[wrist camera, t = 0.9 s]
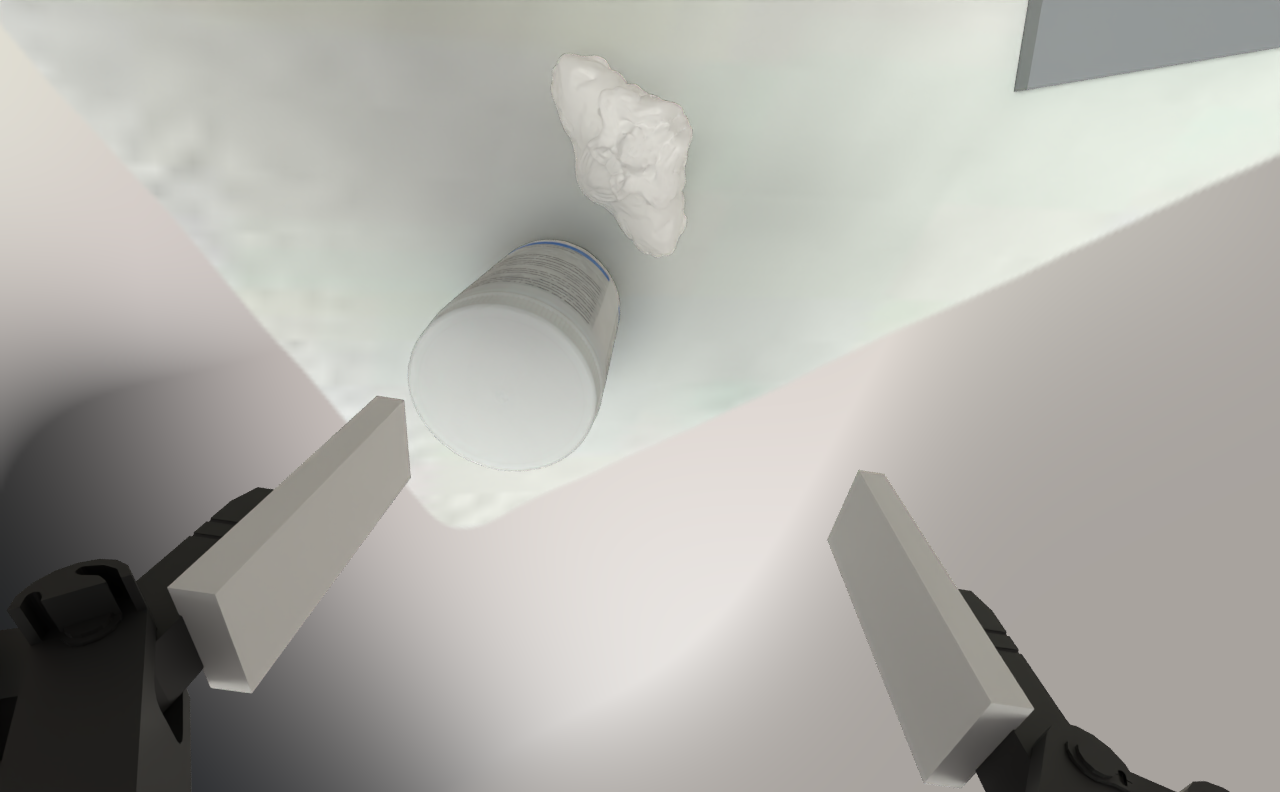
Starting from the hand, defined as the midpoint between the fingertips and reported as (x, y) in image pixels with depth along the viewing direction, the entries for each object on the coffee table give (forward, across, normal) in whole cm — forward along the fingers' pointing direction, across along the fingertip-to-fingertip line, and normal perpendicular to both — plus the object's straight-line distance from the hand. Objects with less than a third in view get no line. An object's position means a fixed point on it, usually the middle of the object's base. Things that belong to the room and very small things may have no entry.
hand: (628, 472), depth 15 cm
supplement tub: (+24, -6, -4) cm, 25 cm away
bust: (+24, -2, +7) cm, 25 cm away
